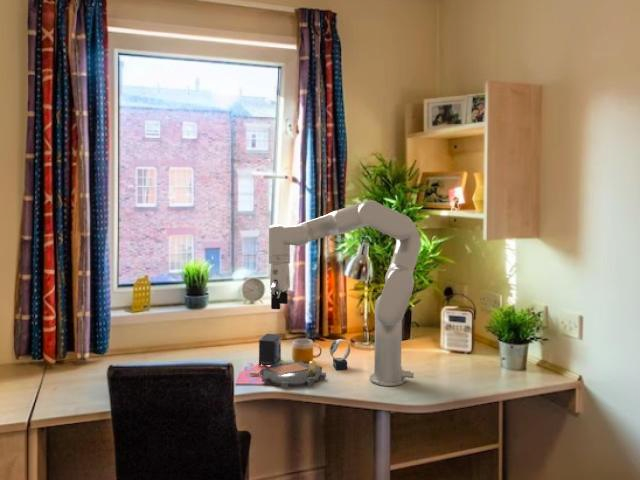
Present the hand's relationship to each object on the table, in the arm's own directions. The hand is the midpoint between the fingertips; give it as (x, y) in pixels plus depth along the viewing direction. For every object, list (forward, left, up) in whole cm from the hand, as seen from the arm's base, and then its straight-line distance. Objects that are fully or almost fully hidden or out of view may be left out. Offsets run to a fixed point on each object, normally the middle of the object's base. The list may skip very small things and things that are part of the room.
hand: (279, 306), depth 200 cm
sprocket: (-5, 0, -26) cm, 27 cm away
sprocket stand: (+1, 0, -26) cm, 26 cm away
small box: (+8, -16, -27) cm, 32 cm away
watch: (-20, -15, -27) cm, 37 cm away
